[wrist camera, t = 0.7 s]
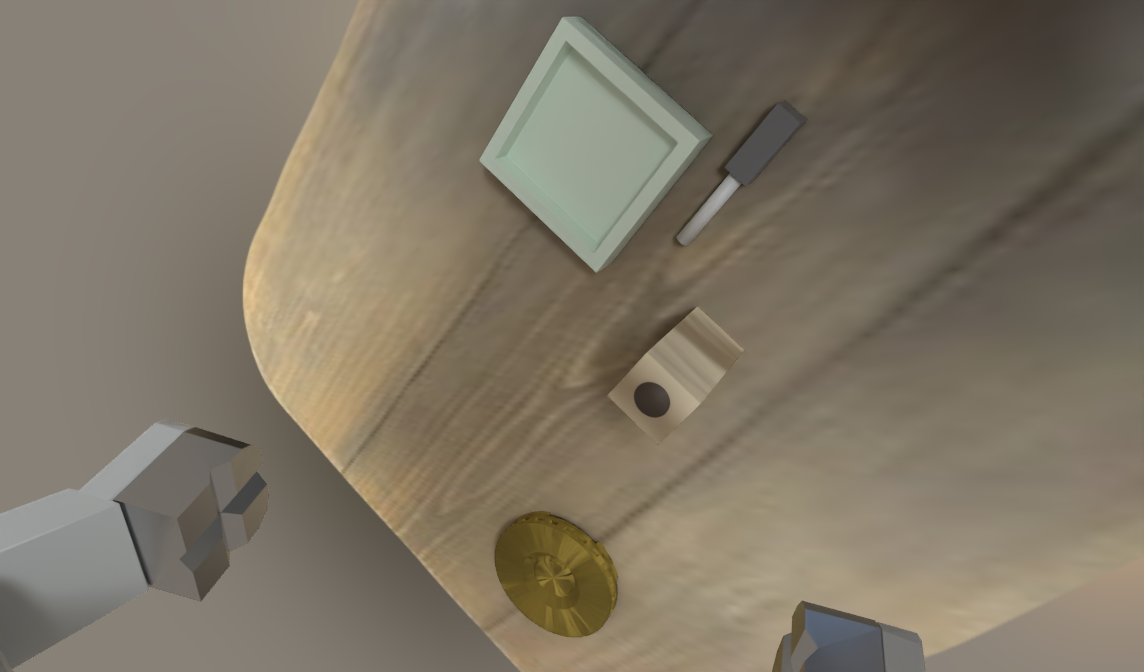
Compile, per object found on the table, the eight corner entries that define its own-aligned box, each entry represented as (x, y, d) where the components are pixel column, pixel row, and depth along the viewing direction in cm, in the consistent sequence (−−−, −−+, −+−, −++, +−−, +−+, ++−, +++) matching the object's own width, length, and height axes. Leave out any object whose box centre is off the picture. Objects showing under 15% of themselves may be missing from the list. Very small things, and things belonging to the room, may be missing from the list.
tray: (581, 16, 51) (562, 16, 49) (713, 135, 49) (699, 140, 47) (498, 155, 58) (478, 160, 56) (611, 263, 56) (596, 272, 54)
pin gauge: (785, 100, 46) (777, 103, 45) (807, 119, 46) (800, 123, 45) (677, 228, 53) (667, 235, 51) (696, 246, 53) (687, 253, 51)
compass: (497, 577, 75) (484, 590, 73) (520, 487, 69) (507, 499, 67) (602, 644, 71) (591, 660, 69) (636, 554, 65) (625, 569, 64)
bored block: (697, 306, 54) (646, 352, 47) (744, 350, 53) (699, 404, 46) (659, 346, 57) (605, 397, 49) (703, 389, 56) (655, 446, 49)
